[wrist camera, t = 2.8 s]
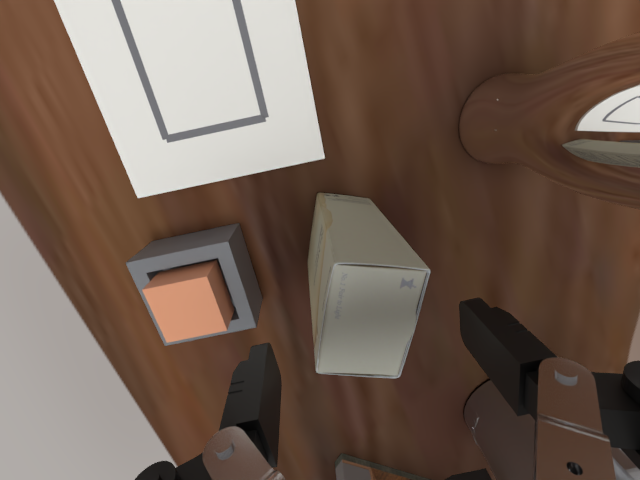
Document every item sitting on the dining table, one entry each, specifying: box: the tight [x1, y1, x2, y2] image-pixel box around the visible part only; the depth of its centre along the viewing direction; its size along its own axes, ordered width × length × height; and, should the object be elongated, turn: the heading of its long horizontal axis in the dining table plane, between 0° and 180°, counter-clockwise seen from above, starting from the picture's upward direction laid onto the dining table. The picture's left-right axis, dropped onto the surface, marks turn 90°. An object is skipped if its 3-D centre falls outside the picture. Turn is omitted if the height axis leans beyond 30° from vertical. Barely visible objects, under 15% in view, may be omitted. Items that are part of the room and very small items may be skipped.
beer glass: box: [459, 32, 640, 210], centre depth 16 cm, size 7×7×15 cm
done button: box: [142, 260, 234, 343], centre depth 22 cm, size 4×4×2 cm
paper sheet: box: [54, 0, 325, 198], centre depth 20 cm, size 14×16×1 cm
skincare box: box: [308, 193, 431, 378], centre depth 20 cm, size 6×4×12 cm
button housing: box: [126, 223, 263, 346], centre depth 24 cm, size 7×7×4 cm
